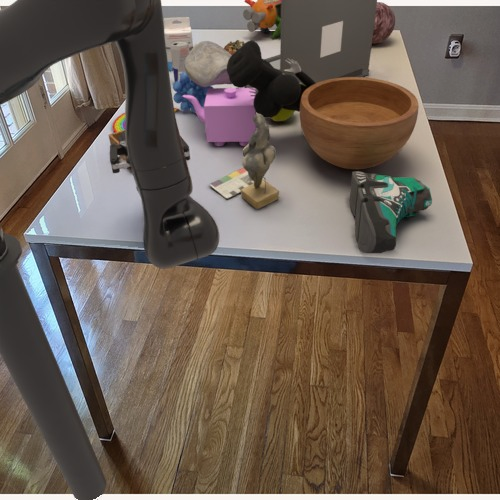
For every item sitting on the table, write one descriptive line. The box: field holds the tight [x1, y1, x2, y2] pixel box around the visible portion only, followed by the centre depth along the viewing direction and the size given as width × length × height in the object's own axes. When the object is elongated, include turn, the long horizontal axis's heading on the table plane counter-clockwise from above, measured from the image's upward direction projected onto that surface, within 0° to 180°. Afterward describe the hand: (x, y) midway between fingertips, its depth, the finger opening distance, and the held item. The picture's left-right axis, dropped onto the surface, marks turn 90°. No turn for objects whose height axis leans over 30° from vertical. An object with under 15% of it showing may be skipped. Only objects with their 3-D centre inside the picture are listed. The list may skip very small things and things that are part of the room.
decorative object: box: [112, 107, 179, 133], centre depth 141 cm, size 20×1×10 cm
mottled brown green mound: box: [223, 39, 246, 55], centre depth 174 cm, size 11×11×5 cm
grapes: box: [172, 72, 214, 114], centre depth 139 cm, size 12×7×12 cm, turn 77°
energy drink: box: [170, 41, 190, 83], centre depth 154 cm, size 5×5×12 cm
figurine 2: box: [209, 113, 280, 210], centre depth 106 cm, size 10×14×20 cm
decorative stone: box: [184, 40, 233, 87], centre depth 128 cm, size 15×10×15 cm
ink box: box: [163, 16, 194, 72], centre depth 163 cm, size 8×5×15 cm, turn 98°
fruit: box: [270, 108, 296, 122], centre depth 135 cm, size 9×9×10 cm
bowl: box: [299, 76, 419, 170], centre depth 116 cm, size 25×25×15 cm
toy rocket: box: [242, 0, 281, 40], centre depth 188 cm, size 14×25×15 cm
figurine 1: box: [227, 40, 316, 119], centre depth 119 cm, size 14×12×30 cm
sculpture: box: [372, 1, 396, 44], centre depth 174 cm, size 17×17×30 cm
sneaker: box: [349, 170, 433, 254], centre depth 100 cm, size 9×24×15 cm
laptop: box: [244, 0, 378, 88], centre depth 151 cm, size 35×28×28 cm
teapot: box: [182, 87, 257, 147], centre depth 127 cm, size 20×10×12 cm, turn 88°
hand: (141, 134), depth 97 cm, fingers closed on pill bottle, 6 cm apart
